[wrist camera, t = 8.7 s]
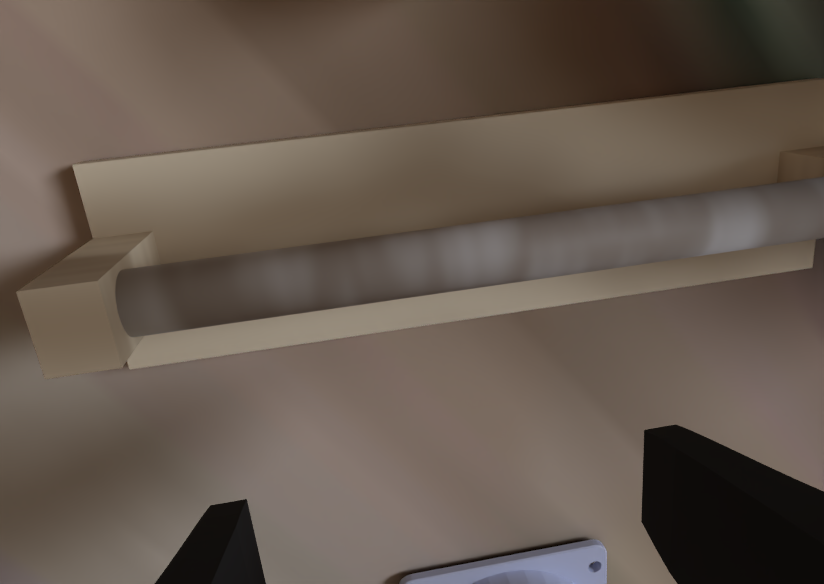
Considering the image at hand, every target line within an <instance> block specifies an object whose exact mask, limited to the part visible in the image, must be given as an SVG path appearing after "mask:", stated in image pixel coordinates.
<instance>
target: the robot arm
mask: <svg viewBox="0 0 824 584" xmlns="http://www.w3.org/2000/svg"><path fill="white" fill-rule="evenodd" d="M642 523H643V525H644V527H645V529H646V531H647V533H648V534H649V536H650V538H651V540H652V542H653V544H654V546H655V548H656V549H657V551H658V553H659V555H660V556H661V558H662V560H663V562H664V563H665V565H666V567H667V569H668V570H669V572H670V574H671V575H672V576H673V578H674V579H675V581H676V582H677V584H824V492H823V491H821V490H819V489H816V488H814V487H812V486H810V485H807V484H805V483H803V482H800V481H798V480H796V479H794V478H792V477H789V476H787V475H785V474H783V473H781V472H779V471H776V470H774V469H772V468H770V467H768V466H766V465H763V464H761V463H759V462H757V461H755V460H753V459H751V458H749V457H747V456H744V455H742V454H740V453H738V452H736V451H734V450H732V449H730V448H728V447H725V446H723V445H721V444H719V443H717V442H715V441H713V440H711V439H708V438H706V437H704V436H702V435H700V434H697V433H695V432H693V431H690V430H688V429H686V428H683V427H681V426H678V425H671V426H665V427H659V428H654V429H648V430H644V460H643V492H642ZM595 561H596V562H595ZM592 562H595V563H594V564H592V565H590V564H591V563H592ZM155 584H266V582H265V578H264V574H263V569H262V565H261V560H260V556H259V552H258V547H257V543H256V538H255V534H254V529H253V525H252V521H251V516H250V512H249V507H248V503H247V499H245V500H239V501H234V502H228V503H222V504H216V505H211V506H210V507H209V508H208V509H207V511H206V512H205V513H204V515H203V516H202V517H201V519H200V520H199V522H198V523H197V525H196V526H195V528H194V529H193V530H192V532H191V533H190V535H189V536H188V538H187V539H186V541H185V542H184V543H183V545H182V546H181V548H180V549H179V551H178V552H177V554H176V555H175V556H174V558H173V559H172V561H171V562H170V563H169V565H168V566H167V568H166V569H165V570H164V572H163V573H162V575H161V576H160V577H159V579H158V580H157V581H156V583H155ZM399 584H607V552H606V549H605V547H604V546H603V544H602V543H601V542H600V541H599V540H596V539H594V540H586V541H581V542H576V543H571V544H565V545H560V546H555V547H550V548H545V549H539V550H534V551H529V552H524V553H518V554H513V555H508V556H503V557H498V558H492V559H487V560H482V561H477V562H472V563H466V564H461V565H456V566H451V567H445V568H440V569H435V570H430V571H425V572H419V573H414V574H410V575H407V576H405V577H404V578H402V579H401V581H400V583H399Z"/></svg>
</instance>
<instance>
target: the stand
mask: <svg viewBox="0 0 824 584" xmlns="http://www.w3.org/2000/svg"><path fill="white" fill-rule="evenodd" d="M72 166H73V170H74V173H75V177H76V180H77V184H78V188H79V191H80V195H81V198H82V202H83V205H84V209H85V213H86V216H87V220H88V223H89V227H90V230H91V234H92V238H93V239H92V240H90V241H89V242H87V243H86V244H84V245H83V246H81V247H80V248H78V249H77V250H76V251H74V252H73V253H71V254H70V255H68V256H67V257H65V258H64V259H63V260H61V261H60V262H58V263H57V264H55V265H54V266H52V267H51V268H50V269H48V270H47V271H45V272H44V273H42V274H41V275H39V276H38V277H37V278H35V279H34V280H32V281H31V282H29V283H28V284H26V285H25V286H24V287H22V288H21V289H19V290H18V291H16V294H17V297H18V300H19V303H20V306H21V309H22V312H23V315H24V318H25V321H26V324H27V327H28V330H29V333H30V336H31V339H32V342H33V345H34V348H35V351H36V354H37V357H38V360H39V363H40V366H41V369H42V372H43V375H44V378H45V379H50V378H57V377H64V376H71V375H77V374H84V373H91V372H98V371H104V370H111V369H118V368H122V367H123V366H124V364H125V363H126V362H127V363H128V366H129V370H131V369H137V368H144V367H151V366H158V365H164V364H171V363H178V362H184V361H191V360H198V359H205V358H211V357H218V356H225V355H231V354H238V353H245V352H252V351H258V350H265V349H272V348H278V347H285V346H292V345H298V344H305V343H312V342H319V341H325V340H332V339H339V338H345V337H352V336H359V335H366V334H372V333H379V332H386V331H392V330H399V329H406V328H413V327H419V326H426V325H433V324H439V323H446V322H453V321H460V320H466V319H473V318H480V317H486V316H493V315H500V314H507V313H513V312H520V311H527V310H533V309H540V308H547V307H554V306H560V305H567V304H574V303H580V302H587V301H594V300H600V299H607V298H614V297H621V296H627V295H634V294H641V293H647V292H654V291H661V290H668V289H674V288H681V287H688V286H694V285H701V284H708V283H715V282H721V281H728V280H735V279H741V278H748V277H755V276H762V275H768V274H775V273H782V272H788V271H795V270H802V269H809V268H812V266H813V258H814V250H815V242H816V239H822V238H824V78H813V79H804V80H796V81H787V82H778V83H769V84H760V85H751V86H743V87H734V88H725V89H716V90H707V91H699V92H690V93H681V94H672V95H663V96H655V97H646V98H637V99H628V100H619V101H611V102H602V103H593V104H584V105H575V106H567V107H558V108H549V109H540V110H531V111H523V112H514V113H505V114H496V115H487V116H479V117H470V118H461V119H452V120H443V121H435V122H426V123H417V124H408V125H399V126H391V127H382V128H373V129H364V130H355V131H347V132H338V133H329V134H320V135H311V136H303V137H294V138H285V139H276V140H267V141H259V142H250V143H241V144H232V145H223V146H215V147H206V148H197V149H188V150H179V151H171V152H162V153H153V154H144V155H135V156H127V157H118V158H109V159H100V160H91V161H83V162H80V163H77V164H74V165H72Z"/></svg>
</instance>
